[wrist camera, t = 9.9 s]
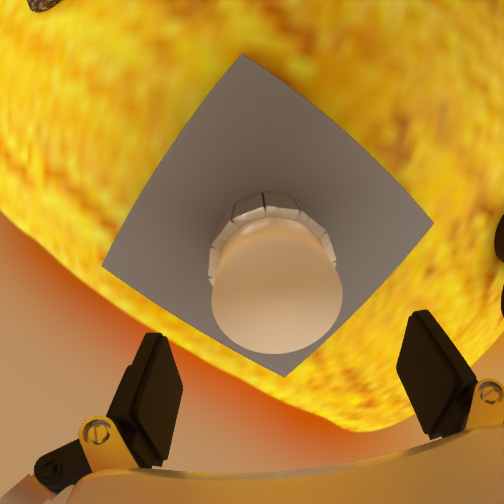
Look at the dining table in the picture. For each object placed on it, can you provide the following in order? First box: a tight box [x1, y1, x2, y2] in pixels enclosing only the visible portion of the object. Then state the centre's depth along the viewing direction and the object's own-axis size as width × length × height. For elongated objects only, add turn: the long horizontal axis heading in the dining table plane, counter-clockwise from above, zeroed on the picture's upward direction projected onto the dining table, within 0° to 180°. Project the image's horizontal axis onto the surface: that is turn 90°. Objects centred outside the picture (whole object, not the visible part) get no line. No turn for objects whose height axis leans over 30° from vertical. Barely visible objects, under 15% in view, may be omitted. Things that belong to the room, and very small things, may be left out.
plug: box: [211, 217, 343, 354], centre depth 19 cm, size 7×7×8 cm
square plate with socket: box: [102, 54, 434, 377], centre depth 21 cm, size 20×20×6 cm
